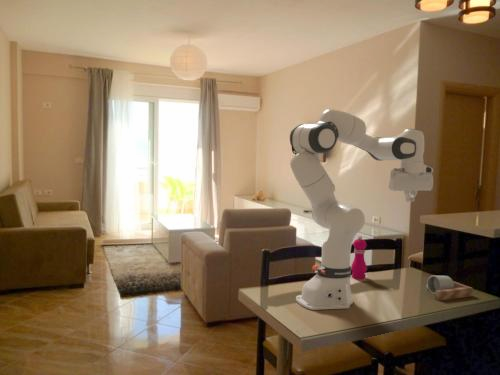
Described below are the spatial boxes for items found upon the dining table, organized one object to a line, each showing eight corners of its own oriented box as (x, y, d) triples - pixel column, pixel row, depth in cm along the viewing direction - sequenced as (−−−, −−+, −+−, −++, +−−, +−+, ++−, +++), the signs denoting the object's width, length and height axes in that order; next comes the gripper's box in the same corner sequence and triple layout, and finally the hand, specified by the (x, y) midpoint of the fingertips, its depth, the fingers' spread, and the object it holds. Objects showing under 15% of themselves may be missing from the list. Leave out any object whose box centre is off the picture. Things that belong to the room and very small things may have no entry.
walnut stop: (438, 300, 164) (438, 292, 164) (416, 291, 175) (417, 283, 175) (472, 296, 170) (472, 287, 170) (449, 287, 181) (449, 279, 181)
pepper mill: (369, 278, 193) (371, 236, 191) (356, 280, 190) (358, 237, 188) (360, 274, 199) (361, 234, 198) (347, 276, 197) (349, 234, 195)
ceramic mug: (455, 294, 172) (456, 276, 171) (439, 296, 169) (440, 278, 169) (436, 287, 182) (436, 270, 181) (421, 289, 179) (421, 271, 179)
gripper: (396, 168, 164) (394, 202, 165) (436, 169, 171) (434, 201, 172) (386, 167, 170) (384, 201, 171) (425, 168, 177) (423, 200, 178)
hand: (410, 201), depth 172 cm, fingers closed
